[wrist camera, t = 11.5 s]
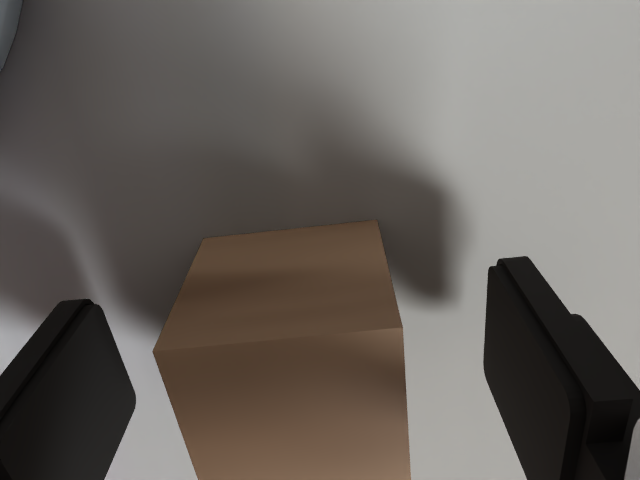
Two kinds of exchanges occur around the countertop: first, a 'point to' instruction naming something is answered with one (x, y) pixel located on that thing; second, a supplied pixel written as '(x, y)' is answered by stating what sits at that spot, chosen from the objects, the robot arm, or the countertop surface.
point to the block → (289, 357)
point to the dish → (8, 26)
